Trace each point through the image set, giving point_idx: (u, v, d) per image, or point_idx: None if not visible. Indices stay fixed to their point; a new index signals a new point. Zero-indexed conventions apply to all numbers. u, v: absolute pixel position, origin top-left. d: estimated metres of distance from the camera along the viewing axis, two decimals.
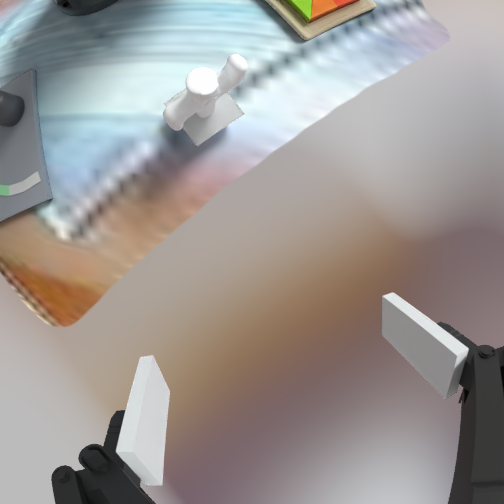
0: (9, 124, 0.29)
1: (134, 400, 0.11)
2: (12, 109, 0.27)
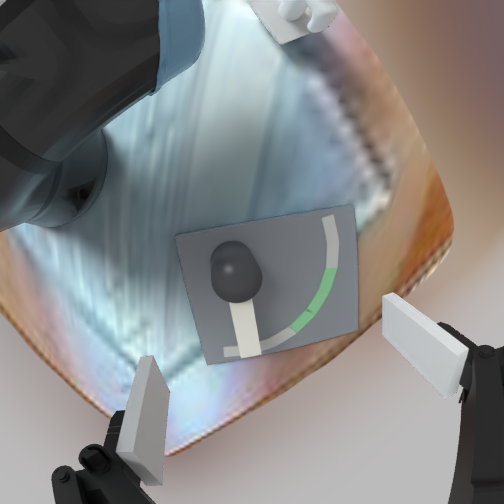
0: None
1: (134, 400, 0.11)
2: (242, 248, 0.31)
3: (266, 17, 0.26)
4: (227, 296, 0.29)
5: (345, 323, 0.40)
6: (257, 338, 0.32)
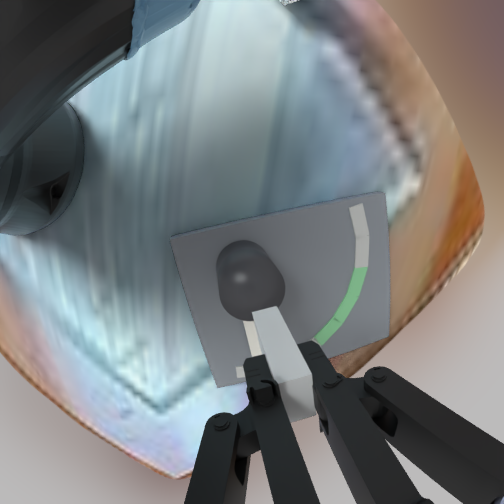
0: None
1: (269, 343, 0.14)
2: (256, 250, 0.24)
3: None
4: (241, 313, 0.22)
5: (375, 330, 0.33)
6: None
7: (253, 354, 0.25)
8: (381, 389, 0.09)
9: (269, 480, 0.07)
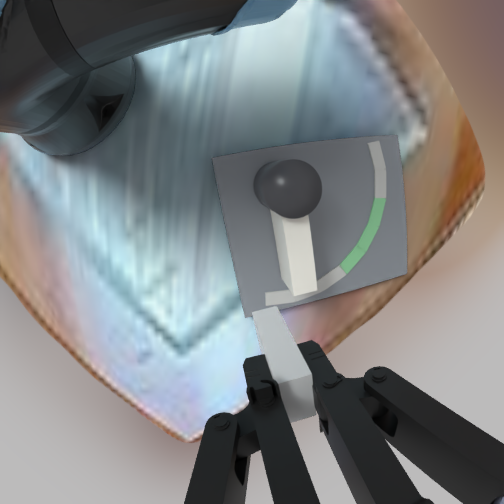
0: None
1: (269, 343, 0.14)
2: None
3: None
4: (283, 209, 0.24)
5: (394, 264, 0.35)
6: (313, 268, 0.27)
7: (290, 260, 0.27)
8: (381, 389, 0.09)
9: (269, 480, 0.07)
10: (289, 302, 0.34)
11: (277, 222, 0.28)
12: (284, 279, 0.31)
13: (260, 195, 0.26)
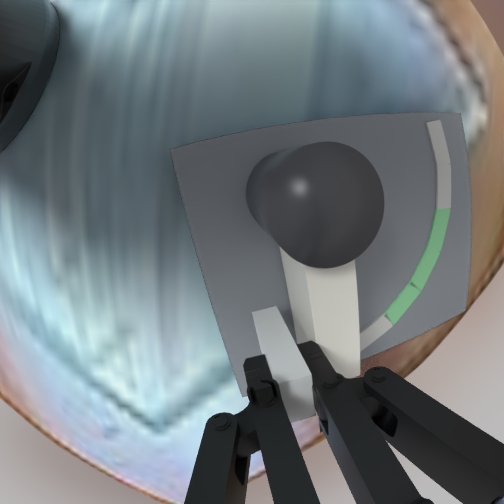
0: None
1: (269, 343, 0.14)
2: None
3: None
4: (308, 251, 0.11)
5: (453, 301, 0.22)
6: (357, 345, 0.14)
7: (318, 338, 0.14)
8: (381, 389, 0.09)
9: (269, 480, 0.07)
10: None
11: (292, 264, 0.15)
12: None
13: (259, 217, 0.13)
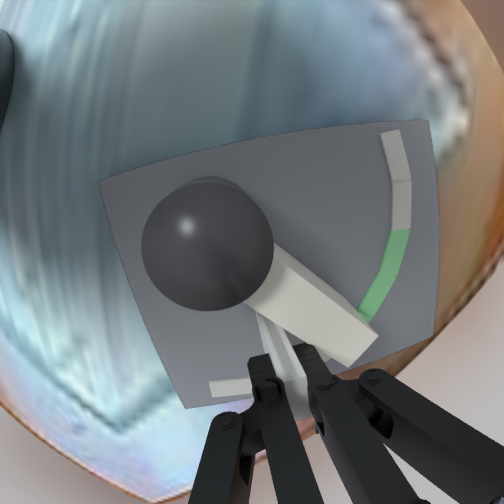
0: (239, 187, 0.15)
1: (273, 342, 0.14)
2: (186, 184, 0.13)
3: None
4: (220, 297, 0.11)
5: (416, 327, 0.21)
6: (351, 318, 0.14)
7: (304, 338, 0.14)
8: (376, 391, 0.09)
9: (273, 479, 0.07)
10: (248, 392, 0.21)
11: None
12: None
13: None
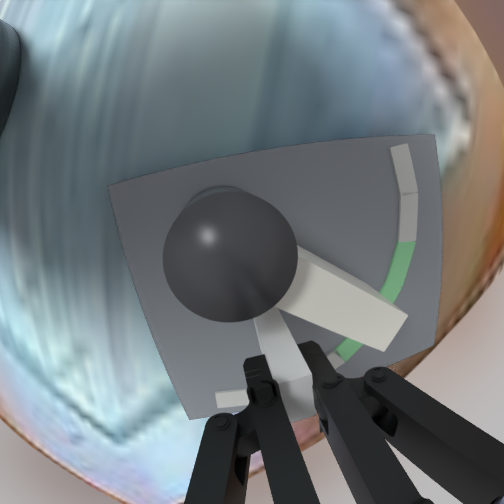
0: None
1: (269, 343, 0.14)
2: (196, 197, 0.13)
3: None
4: (251, 305, 0.11)
5: (418, 337, 0.21)
6: (380, 303, 0.13)
7: (338, 330, 0.13)
8: (381, 389, 0.09)
9: (269, 480, 0.07)
10: None
11: None
12: None
13: None
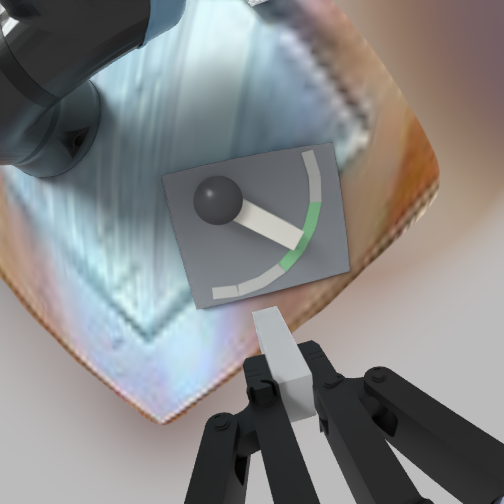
0: None
1: (269, 343, 0.14)
2: (204, 179, 0.31)
3: None
4: (226, 218, 0.30)
5: (335, 262, 0.40)
6: (286, 223, 0.32)
7: (266, 235, 0.32)
8: (381, 389, 0.09)
9: (269, 480, 0.07)
10: (234, 296, 0.39)
11: None
12: None
13: None
